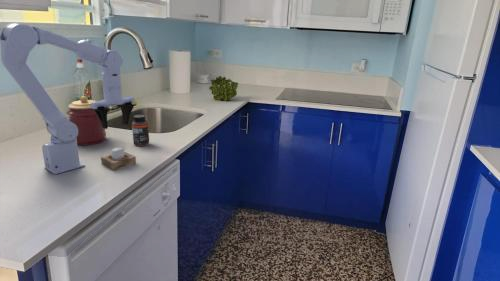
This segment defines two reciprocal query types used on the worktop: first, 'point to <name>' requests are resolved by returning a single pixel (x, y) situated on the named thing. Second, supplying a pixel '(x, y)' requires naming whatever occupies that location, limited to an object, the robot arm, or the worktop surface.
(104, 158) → the socket block
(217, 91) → the green broccoli head
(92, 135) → the canister
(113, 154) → the plug
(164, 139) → the worktop surface
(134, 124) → the supplement bottle
